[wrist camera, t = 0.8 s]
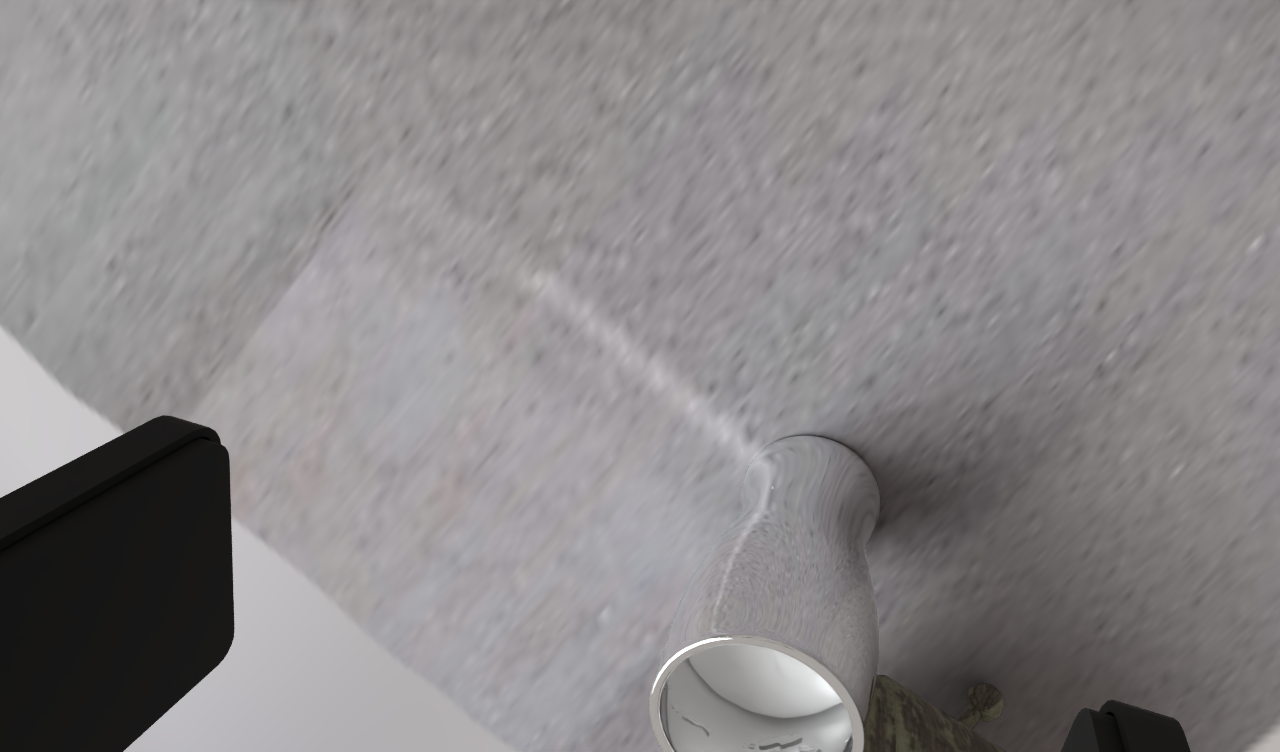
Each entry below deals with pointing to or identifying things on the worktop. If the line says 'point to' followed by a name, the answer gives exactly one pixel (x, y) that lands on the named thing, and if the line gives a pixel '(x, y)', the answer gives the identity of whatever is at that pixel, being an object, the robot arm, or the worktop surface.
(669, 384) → the worktop surface
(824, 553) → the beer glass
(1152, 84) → the worktop surface
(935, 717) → the tabletop clock
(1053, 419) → the worktop surface
